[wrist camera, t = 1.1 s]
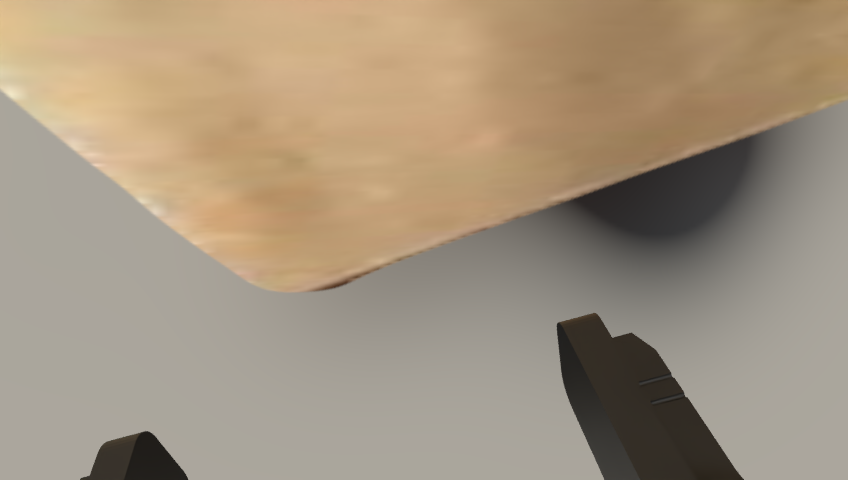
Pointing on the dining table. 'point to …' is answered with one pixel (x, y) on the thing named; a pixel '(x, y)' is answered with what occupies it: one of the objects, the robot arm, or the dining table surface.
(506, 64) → the dining table surface
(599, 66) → the dining table surface
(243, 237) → the dining table surface
